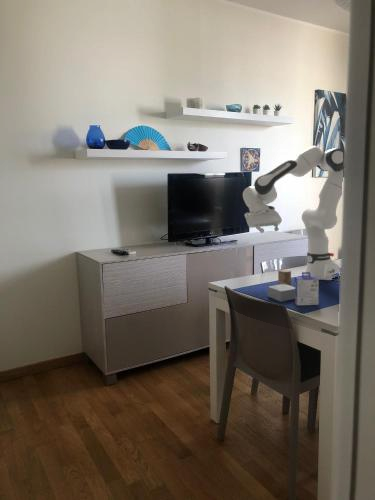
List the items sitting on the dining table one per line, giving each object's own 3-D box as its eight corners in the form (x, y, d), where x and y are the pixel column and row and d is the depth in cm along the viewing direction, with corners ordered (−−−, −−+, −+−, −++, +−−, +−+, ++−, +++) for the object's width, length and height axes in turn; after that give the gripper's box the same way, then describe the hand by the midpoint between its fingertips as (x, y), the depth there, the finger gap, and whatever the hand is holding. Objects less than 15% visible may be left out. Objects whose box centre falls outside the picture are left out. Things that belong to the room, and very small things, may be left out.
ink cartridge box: (315, 301, 191) (316, 271, 189) (319, 305, 186) (319, 274, 183) (294, 302, 191) (294, 272, 189) (297, 305, 186) (297, 274, 183)
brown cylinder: (285, 288, 215) (285, 269, 213) (290, 290, 211) (291, 271, 209) (278, 289, 213) (278, 270, 211) (283, 291, 209) (283, 272, 207)
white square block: (284, 293, 206) (284, 283, 205) (297, 298, 197) (297, 288, 196) (268, 296, 202) (268, 286, 201) (280, 301, 193) (280, 291, 192)
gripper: (245, 209, 218) (256, 229, 211) (276, 206, 226) (287, 225, 219) (240, 216, 223) (251, 236, 216) (271, 214, 231) (282, 233, 224)
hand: (270, 231), depth 218 cm, fingers open, 8 cm apart
